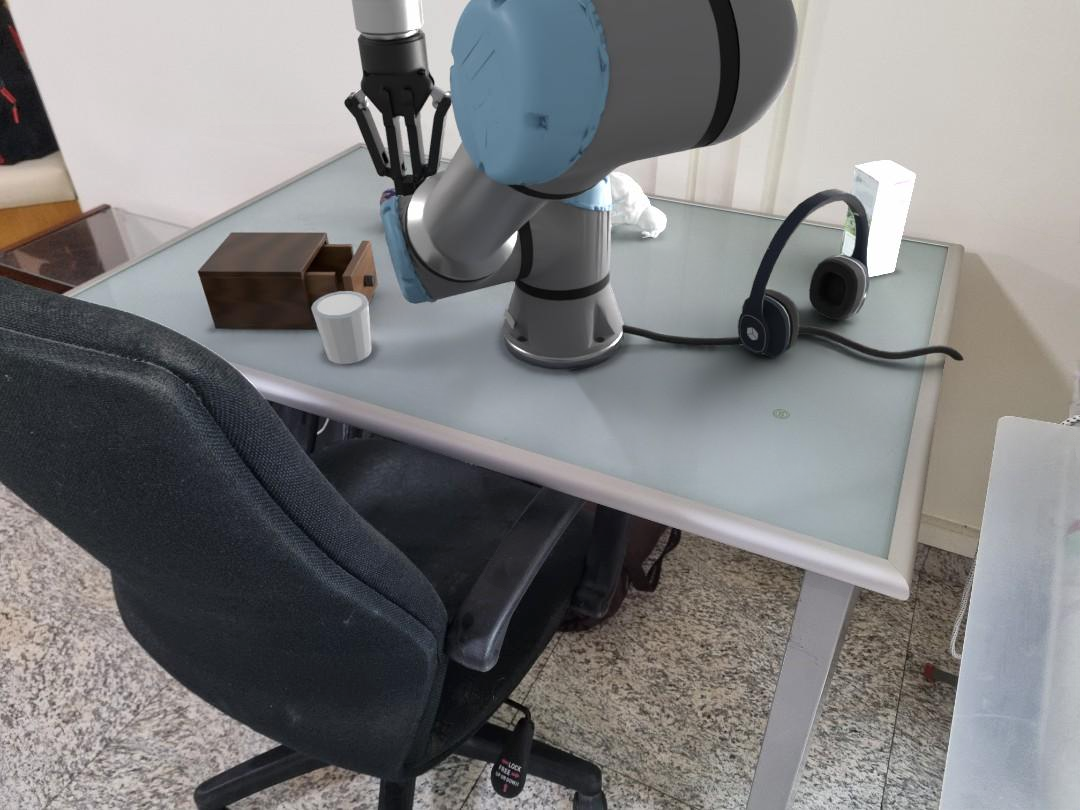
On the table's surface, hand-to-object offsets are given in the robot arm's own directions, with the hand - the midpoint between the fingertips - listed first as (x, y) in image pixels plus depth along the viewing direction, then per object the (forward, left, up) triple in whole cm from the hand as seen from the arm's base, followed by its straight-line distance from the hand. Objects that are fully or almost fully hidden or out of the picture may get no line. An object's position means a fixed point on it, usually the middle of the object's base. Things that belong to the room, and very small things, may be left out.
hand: (416, 227), depth 108 cm
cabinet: (+21, 0, -12) cm, 24 cm away
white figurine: (-28, -25, -12) cm, 39 cm away
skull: (+7, -27, -12) cm, 30 cm away
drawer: (+14, 0, -11) cm, 18 cm away
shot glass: (+8, +11, -12) cm, 18 cm away
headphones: (-49, +5, -12) cm, 51 cm away
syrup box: (-61, -13, -12) cm, 64 cm away
